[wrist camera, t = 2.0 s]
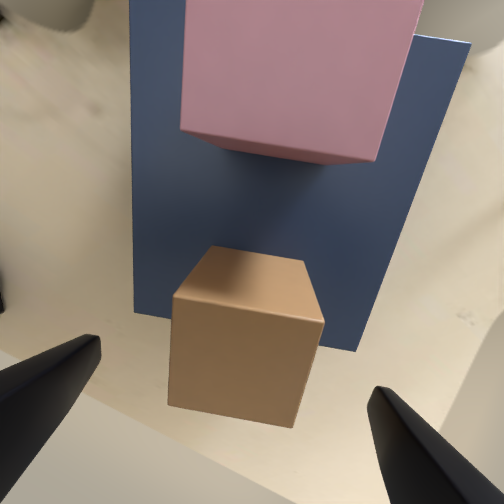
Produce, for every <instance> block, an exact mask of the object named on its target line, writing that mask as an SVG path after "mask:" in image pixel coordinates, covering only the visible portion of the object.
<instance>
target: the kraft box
mask: <svg viewBox="0 0 504 504" xmlns="http://www.w3.org/2000/svg"><path fill="white" fill-rule="evenodd" d="M324 324H325V321H324V318H323V315H322V312H321V309H320V307H319V304H318V301H317V298H316V295H315V292H314V290H313V287H312V284H311V281H310V278H309V276H308V273H307V270H306V267H305V264H304V261H301V260H295V259H289V258H283V257H277V256H272V255H266V254H260V253H254V252H248V251H242V250H236V249H231V248H225V247H219V246H211V247H210V248H209V250H208V251H207V252H206V253H205V255H204V256H203V257H202V259H201V260H200V261H199V262H198V264H197V265H196V266H195V268H194V269H193V270H192V271H191V273H190V274H189V275H188V276H187V278H186V279H185V280H184V282H183V283H182V284H181V285H180V287H179V288H178V289H177V291H176V292H175V293H174V294H173V298H172V319H171V340H170V361H169V382H168V405H169V406H174V407H179V408H184V409H190V410H195V411H201V412H206V413H211V414H217V415H222V416H227V417H233V418H238V419H244V420H249V421H254V422H260V423H265V424H271V425H276V426H281V427H287V428H293V426H294V422H295V419H296V416H297V412H298V409H299V406H300V403H301V399H302V396H303V393H304V390H305V386H306V383H307V380H308V376H309V373H310V370H311V367H312V363H313V360H314V357H315V354H316V350H317V347H318V344H319V341H320V337H321V334H322V331H323V327H324Z"/></svg>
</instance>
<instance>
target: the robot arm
mask: <svg viewBox="0 0 504 504" xmlns="http://www.w3.org/2000/svg"><path fill="white" fill-rule="evenodd" d="M3 312H4V307H3V303H2V298H1V294H0V314H2V313H3ZM100 360H101V341H100V337H99V336H97V335H91V334H84V335H82V336H79V337H77V338H75V339H73V340H70V341H68V342H66V343H63V344H61V345H59V346H56V347H54V348H52V349H49V350H47V351H45V352H42V353H40V354H38V355H36V356H33V357H31V358H29V359H26V360H24V361H22V362H19V363H17V364H15V365H12V366H10V367H8V368H5V369H3V370H1V371H0V503H1V502H2V500H3V499H4V498H5V496H6V495H7V494H8V492H9V491H10V490H11V488H12V487H13V486H14V484H15V483H16V482H17V480H18V479H19V478H20V476H21V475H22V474H23V472H24V471H25V470H26V468H27V467H28V466H29V464H30V463H31V462H32V460H33V459H34V458H35V456H36V455H37V454H38V452H39V451H40V450H41V448H42V447H43V446H44V444H45V443H46V441H47V440H48V439H49V438H50V436H51V435H52V434H53V432H54V431H55V430H56V428H57V427H58V426H59V424H60V423H61V422H62V420H63V419H64V417H65V416H66V415H67V413H68V412H69V410H70V409H71V407H72V406H73V404H74V403H75V401H76V399H77V398H78V396H79V395H80V393H81V392H82V390H83V388H84V387H85V385H86V384H87V382H88V380H89V379H90V377H91V376H92V374H93V372H94V371H95V369H96V368H97V366H98V364H99V362H100ZM367 413H368V417H369V422H370V426H371V431H372V435H373V440H374V444H375V449H376V453H377V458H378V462H379V466H380V470H381V473H382V477H383V480H384V484H385V487H386V490H387V493H388V496H389V499H390V503H391V504H504V494H503V493H502V492H501V491H500V490H499V489H498V488H496V487H495V486H494V485H493V484H492V483H491V482H490V481H489V480H488V479H487V478H486V477H485V476H484V475H483V474H482V473H481V472H479V471H478V470H477V469H476V468H475V467H474V466H473V465H472V464H471V463H470V462H469V461H468V460H467V459H466V458H464V457H463V456H462V455H461V454H460V453H459V452H458V451H457V450H456V449H455V448H454V447H453V446H452V445H451V444H450V443H448V442H447V441H446V440H445V439H444V438H443V437H442V436H441V435H440V434H439V433H438V432H437V431H436V430H435V429H433V428H432V427H431V426H430V425H429V424H428V423H427V422H426V421H425V420H424V419H423V418H422V417H421V416H420V415H418V414H417V413H416V412H415V411H414V410H413V409H412V408H411V407H410V406H409V405H408V404H407V403H406V402H405V401H403V400H402V399H401V398H400V397H399V396H398V395H397V394H396V393H395V392H394V391H393V390H392V389H390V388H387V387H382V386H376V387H375V388H374V390H373V392H372V395H371V397H370V399H369V401H368V404H367Z"/></svg>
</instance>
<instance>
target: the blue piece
mask: <svg viewBox="0 0 504 504" xmlns="http://www.w3.org/2000/svg"><path fill="white" fill-rule="evenodd" d="M185 8H186V0H129V24H130V89H131V154H132V219H133V284H134V313H140V314H145V315H151V316H156V317H162V318H168V319H172V298H173V294H174V293H175V292H176V291H177V289H178V288H179V287H180V285H181V284H182V283H183V282H184V280H185V279H186V278H187V276H188V275H189V274H190V273H191V271H192V270H193V269H194V268H195V266H196V265H197V264H198V262H199V261H200V260H201V259H202V257H203V256H204V255H205V253H206V252H207V251H208V250H209V248H210V247H211V246H219V247H225V248H231V249H236V250H242V251H248V252H254V253H260V254H266V255H272V256H277V257H283V258H289V259H295V260H301V261H304V264H305V267H306V270H307V273H308V276H309V278H310V281H311V284H312V287H313V290H314V292H315V295H316V298H317V301H318V304H319V307H320V309H321V312H322V315H323V318H324V321H325V324H324V327H323V331H322V334H321V337H320V341H319V344H318V345H319V346H325V347H331V348H336V349H342V350H347V351H353V352H356V350H357V347H358V345H359V342H360V340H361V337H362V334H363V332H364V329H365V326H366V324H367V321H368V318H369V316H370V313H371V310H372V308H373V305H374V302H375V300H376V297H377V294H378V292H379V289H380V286H381V284H382V281H383V278H384V276H385V273H386V270H387V268H388V265H389V262H390V260H391V257H392V255H393V252H394V249H395V247H396V244H397V241H398V239H399V236H400V233H401V231H402V228H403V225H404V223H405V220H406V217H407V215H408V212H409V209H410V207H411V204H412V201H413V199H414V196H415V193H416V191H417V188H418V185H419V183H420V180H421V177H422V175H423V172H424V169H425V167H426V164H427V162H428V159H429V156H430V154H431V151H432V148H433V146H434V143H435V140H436V138H437V135H438V132H439V130H440V127H441V124H442V122H443V119H444V116H445V114H446V111H447V108H448V106H449V103H450V100H451V98H452V95H453V92H454V90H455V87H456V84H457V82H458V79H459V76H460V74H461V71H462V69H463V66H464V63H465V61H466V58H467V55H468V53H469V50H470V47H471V44H472V43H470V42H463V41H456V40H450V39H443V38H436V37H430V36H423V35H417V34H414V36H413V39H412V42H411V46H410V49H409V52H408V55H407V59H406V62H405V65H404V68H403V72H402V75H401V78H400V81H399V85H398V88H397V91H396V94H395V98H394V101H393V104H392V107H391V111H390V114H389V117H388V121H387V124H386V127H385V130H384V134H383V137H382V140H381V143H380V147H379V150H378V153H377V156H376V160H375V161H374V162H366V163H352V164H339V165H321V164H314V163H308V162H302V161H296V160H290V159H284V158H277V157H271V156H265V155H259V154H253V153H247V152H241V151H234V150H228V149H222V148H220V147H217V146H215V145H213V144H210V143H208V142H206V141H203V140H201V139H199V138H196V137H194V136H192V135H189V134H187V133H185V132H183V131H181V130H180V116H181V94H182V73H183V51H184V30H185Z"/></svg>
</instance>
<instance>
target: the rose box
mask: <svg viewBox="0 0 504 504" xmlns="http://www.w3.org/2000/svg"><path fill="white" fill-rule="evenodd" d="M423 3H424V0H186V8H185V30H184V51H183V73H182V94H181V116H180V130H181V131H183V132H185V133H187V134H189V135H192V136H194V137H196V138H199V139H201V140H203V141H206V142H208V143H210V144H213V145H215V146H217V147H220V148H222V149H228V150H234V151H241V152H247V153H253V154H259V155H265V156H271V157H277V158H284V159H290V160H296V161H302V162H308V163H314V164H321V165H339V164H352V163H366V162H374V161H375V160H376V156H377V153H378V150H379V147H380V143H381V140H382V137H383V134H384V130H385V127H386V124H387V121H388V117H389V114H390V111H391V107H392V104H393V101H394V98H395V94H396V91H397V88H398V85H399V81H400V78H401V75H402V72H403V68H404V65H405V62H406V59H407V55H408V52H409V49H410V46H411V42H412V39H413V36H414V32H415V29H416V26H417V23H418V19H419V16H420V13H421V10H422V6H423Z"/></svg>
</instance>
